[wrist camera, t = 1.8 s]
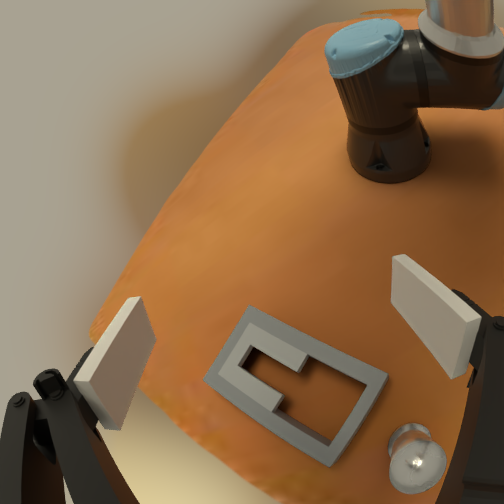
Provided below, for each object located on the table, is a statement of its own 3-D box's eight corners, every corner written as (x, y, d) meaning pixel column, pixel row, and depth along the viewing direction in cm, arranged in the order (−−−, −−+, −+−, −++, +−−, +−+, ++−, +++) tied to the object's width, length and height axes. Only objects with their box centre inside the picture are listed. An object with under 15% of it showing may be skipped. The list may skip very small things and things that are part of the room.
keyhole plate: (389, 377, 31) (388, 373, 28) (336, 461, 28) (329, 467, 25) (261, 314, 43) (249, 304, 40) (218, 383, 40) (202, 379, 37)
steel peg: (422, 415, 26) (442, 420, 14) (434, 450, 23) (460, 479, 11) (383, 433, 27) (373, 452, 15) (394, 468, 24) (391, 510, 12)
